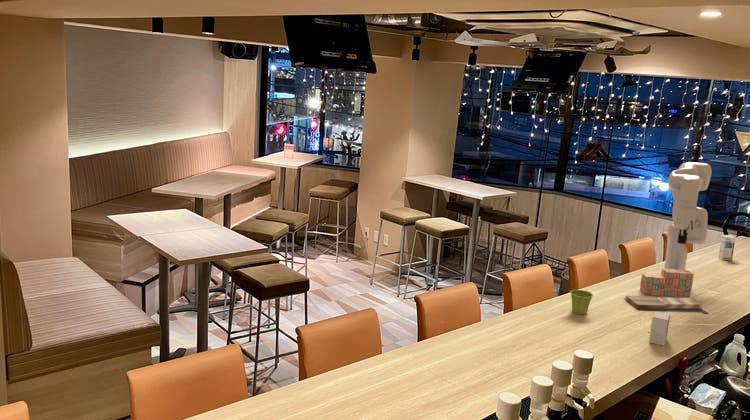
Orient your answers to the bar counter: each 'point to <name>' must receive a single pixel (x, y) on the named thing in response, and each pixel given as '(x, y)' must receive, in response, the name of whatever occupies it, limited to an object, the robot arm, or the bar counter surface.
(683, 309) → the underlay mat
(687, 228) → the robot arm
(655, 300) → the laid board
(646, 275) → the stack of blocks
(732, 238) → the syrup box
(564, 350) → the bar counter surface
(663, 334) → the small box
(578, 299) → the plant pot
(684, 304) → the plank
